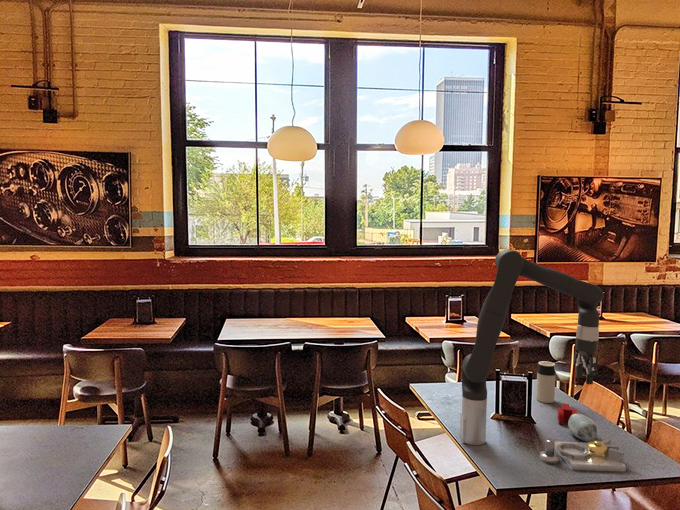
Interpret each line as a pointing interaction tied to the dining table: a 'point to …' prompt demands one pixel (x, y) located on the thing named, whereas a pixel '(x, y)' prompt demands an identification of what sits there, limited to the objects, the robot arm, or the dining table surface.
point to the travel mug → (545, 382)
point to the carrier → (591, 455)
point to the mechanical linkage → (565, 413)
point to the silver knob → (549, 453)
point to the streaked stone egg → (582, 427)
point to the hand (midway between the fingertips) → (584, 380)
